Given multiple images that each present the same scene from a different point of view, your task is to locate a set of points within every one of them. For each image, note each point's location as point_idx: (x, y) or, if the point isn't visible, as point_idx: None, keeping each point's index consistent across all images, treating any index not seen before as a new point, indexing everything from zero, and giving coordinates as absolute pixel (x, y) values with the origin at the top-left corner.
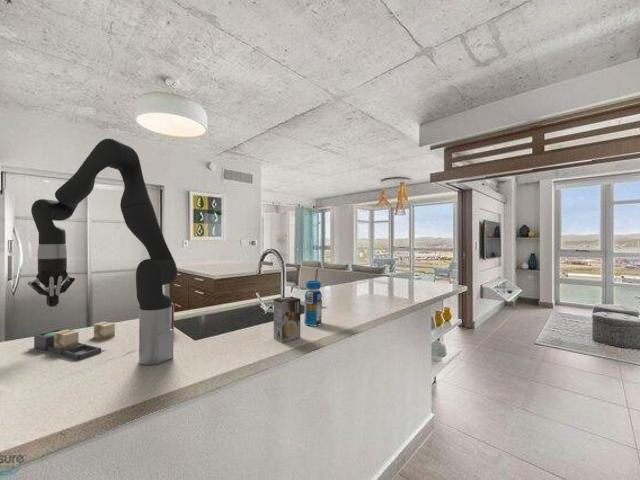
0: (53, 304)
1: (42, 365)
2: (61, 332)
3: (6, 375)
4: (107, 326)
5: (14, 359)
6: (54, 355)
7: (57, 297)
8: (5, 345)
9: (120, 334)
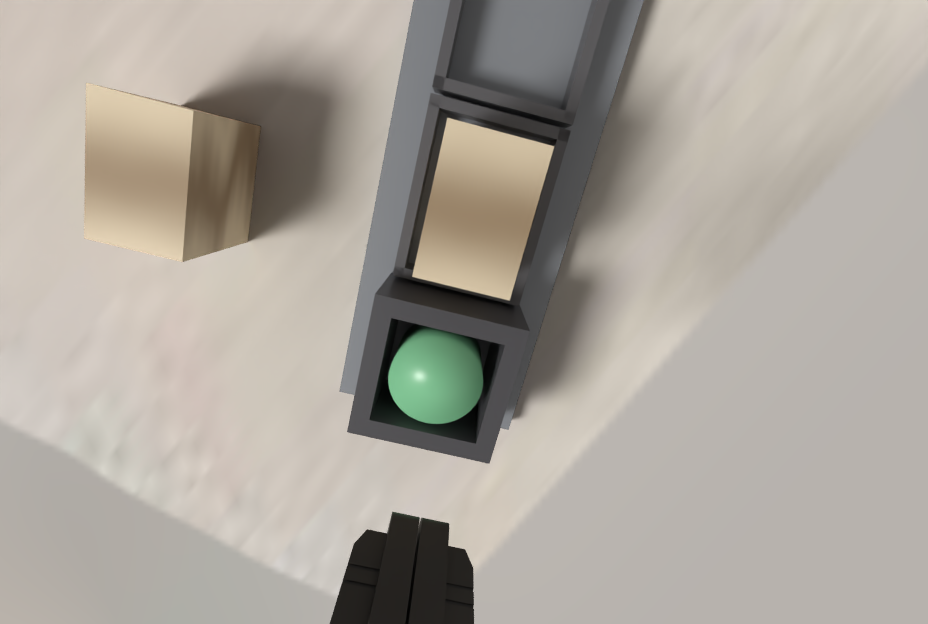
0: (430, 536)
1: (662, 152)
2: (492, 249)
3: (788, 215)
4: (167, 103)
5: (599, 386)
6: (571, 183)
7: (351, 621)
8: None
9: None
